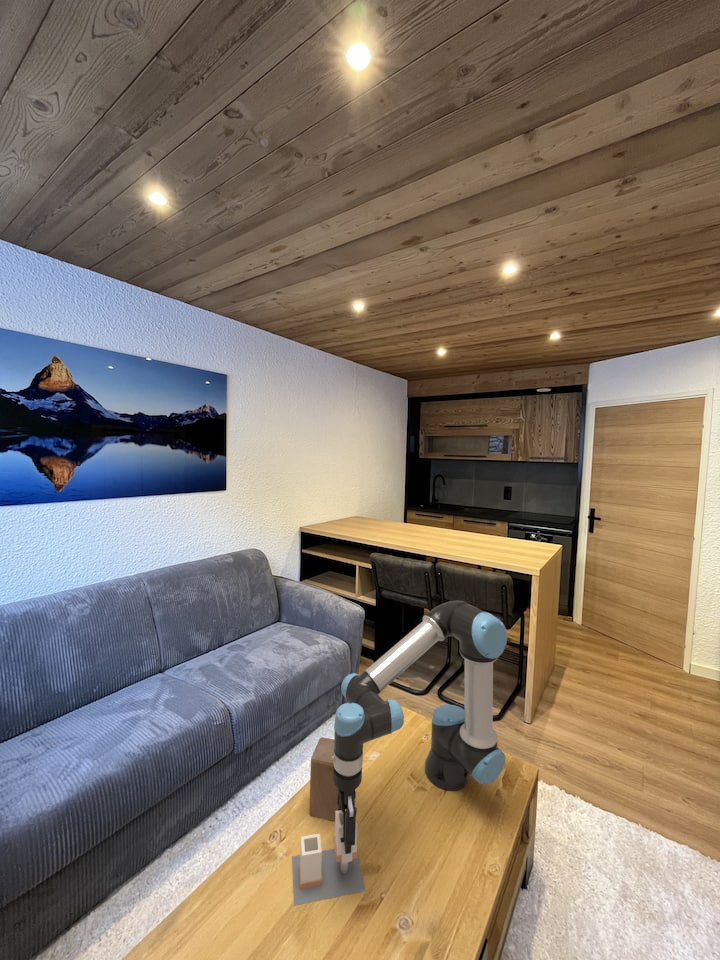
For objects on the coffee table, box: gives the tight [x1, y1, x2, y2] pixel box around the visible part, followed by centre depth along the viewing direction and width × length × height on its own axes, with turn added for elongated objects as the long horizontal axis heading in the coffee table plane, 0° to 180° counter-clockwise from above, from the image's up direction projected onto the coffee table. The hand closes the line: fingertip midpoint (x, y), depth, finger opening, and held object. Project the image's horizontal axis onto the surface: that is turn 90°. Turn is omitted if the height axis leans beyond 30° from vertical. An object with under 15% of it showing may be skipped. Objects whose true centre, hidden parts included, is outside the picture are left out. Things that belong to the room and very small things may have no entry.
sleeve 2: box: [333, 810, 359, 862], centre depth 105 cm, size 6×6×9 cm
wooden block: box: [309, 737, 339, 823], centre depth 125 cm, size 10×10×20 cm
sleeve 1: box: [299, 833, 323, 890], centre depth 104 cm, size 6×6×9 cm
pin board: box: [291, 848, 366, 906], centre depth 105 cm, size 18×12×8 cm, turn 102°
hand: (344, 848), depth 105 cm, fingers closed on sleeve 2, 5 cm apart
